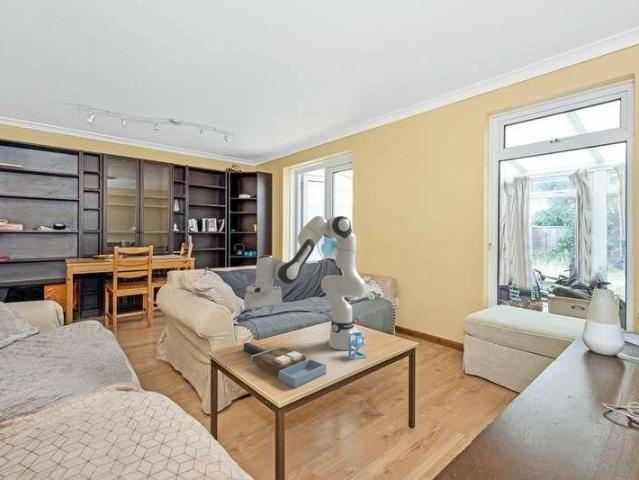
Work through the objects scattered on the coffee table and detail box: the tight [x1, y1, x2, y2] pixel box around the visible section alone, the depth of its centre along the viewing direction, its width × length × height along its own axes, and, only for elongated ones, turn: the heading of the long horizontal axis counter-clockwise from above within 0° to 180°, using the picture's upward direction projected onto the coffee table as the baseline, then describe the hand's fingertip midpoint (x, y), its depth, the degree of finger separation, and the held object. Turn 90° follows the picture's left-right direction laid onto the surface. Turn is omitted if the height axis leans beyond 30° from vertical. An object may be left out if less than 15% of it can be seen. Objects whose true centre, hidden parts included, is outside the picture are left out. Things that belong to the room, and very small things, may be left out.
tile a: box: [287, 350, 303, 360], centre depth 148 cm, size 5×5×2 cm
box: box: [278, 358, 327, 389], centre depth 139 cm, size 19×10×4 cm, turn 138°
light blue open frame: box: [347, 332, 368, 360], centre depth 163 cm, size 8×8×12 cm
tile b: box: [275, 355, 291, 365], centre depth 143 cm, size 5×5×2 cm
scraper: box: [243, 342, 280, 366], centre depth 162 cm, size 18×16×4 cm
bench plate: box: [256, 347, 307, 379], centre depth 148 cm, size 16×16×5 cm
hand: (263, 315), depth 159 cm, fingers open, 8 cm apart
